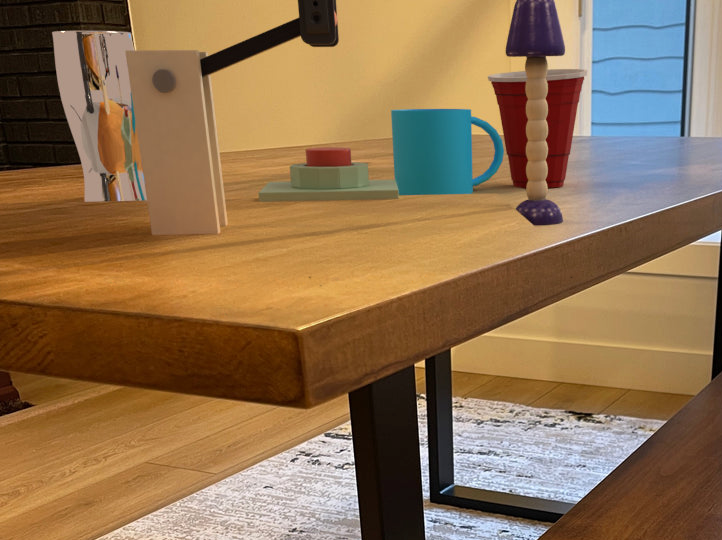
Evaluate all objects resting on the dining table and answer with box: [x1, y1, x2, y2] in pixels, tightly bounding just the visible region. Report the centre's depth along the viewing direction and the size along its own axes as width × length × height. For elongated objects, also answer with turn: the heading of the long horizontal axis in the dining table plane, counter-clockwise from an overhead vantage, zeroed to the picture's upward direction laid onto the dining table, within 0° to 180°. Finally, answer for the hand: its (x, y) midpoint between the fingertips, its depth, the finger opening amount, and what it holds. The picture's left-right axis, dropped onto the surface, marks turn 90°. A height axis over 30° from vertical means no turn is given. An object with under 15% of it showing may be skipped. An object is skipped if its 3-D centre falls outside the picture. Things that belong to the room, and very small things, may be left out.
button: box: [305, 146, 352, 167], centre depth 90 cm, size 4×4×2 cm
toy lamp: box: [505, 0, 566, 226], centre depth 80 cm, size 5×5×17 cm
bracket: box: [125, 49, 229, 236], centre depth 68 cm, size 11×9×13 cm
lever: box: [200, 11, 338, 78], centre depth 66 cm, size 13×6×2 cm, turn 97°
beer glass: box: [51, 30, 147, 203], centre depth 91 cm, size 7×7×15 cm
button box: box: [257, 161, 400, 203], centre depth 91 cm, size 12×10×4 cm
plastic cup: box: [487, 68, 588, 189], centre depth 109 cm, size 11×11×12 cm
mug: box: [390, 108, 505, 196], centre depth 104 cm, size 12×8×8 cm
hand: (321, 44), depth 67 cm, fingers closed on lever, 5 cm apart
